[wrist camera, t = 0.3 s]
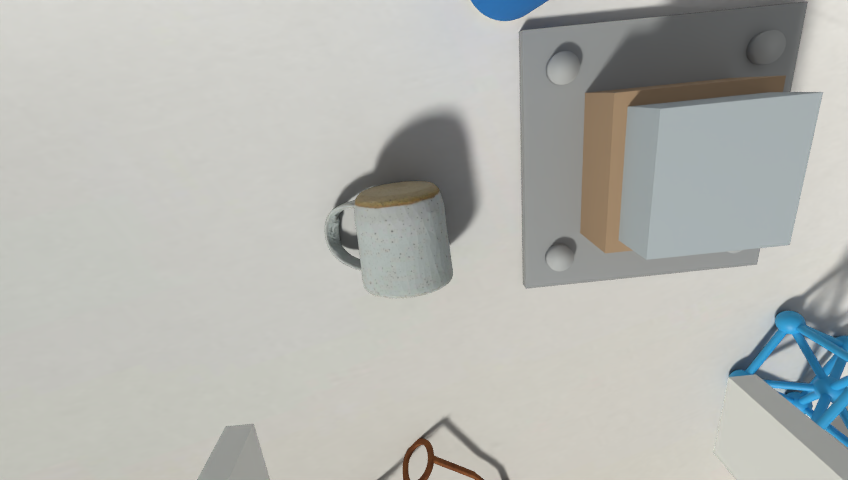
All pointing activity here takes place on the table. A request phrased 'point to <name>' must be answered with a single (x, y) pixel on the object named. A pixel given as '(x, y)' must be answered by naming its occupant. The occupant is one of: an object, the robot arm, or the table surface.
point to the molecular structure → (821, 384)
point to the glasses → (432, 460)
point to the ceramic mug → (397, 239)
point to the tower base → (619, 70)
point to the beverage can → (506, 8)
